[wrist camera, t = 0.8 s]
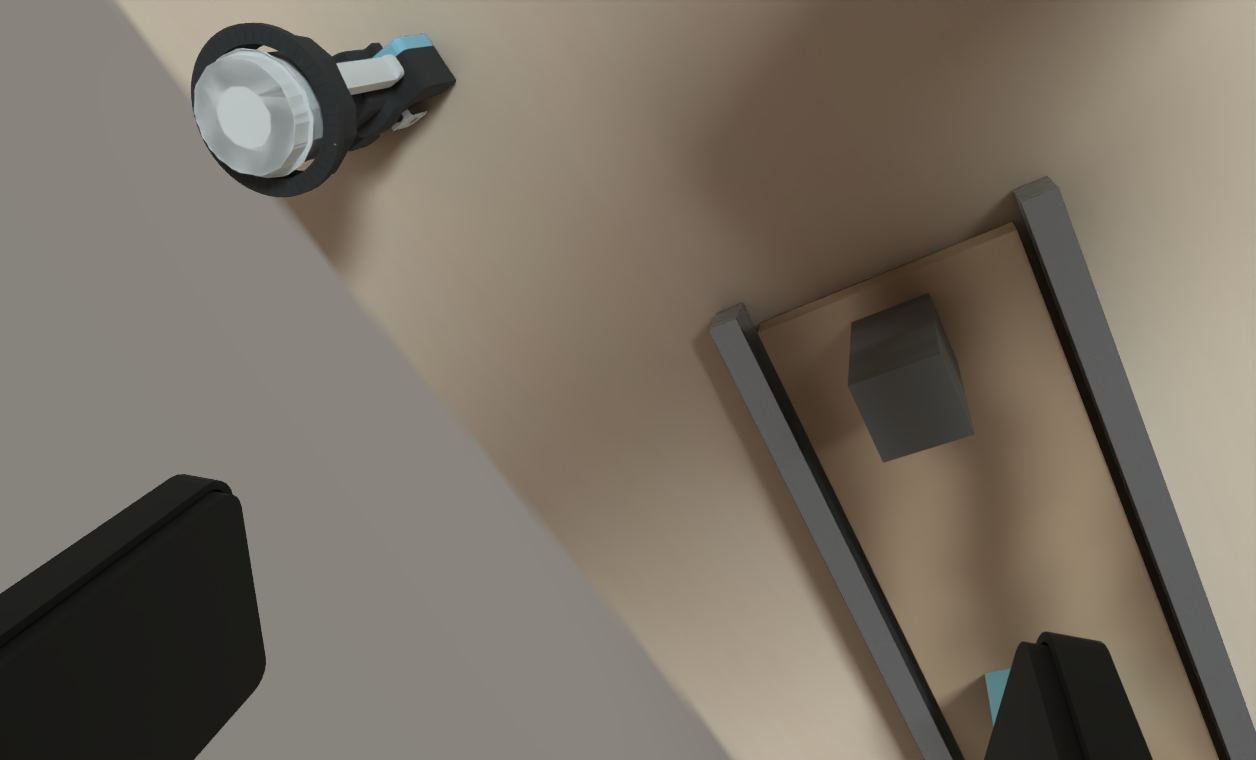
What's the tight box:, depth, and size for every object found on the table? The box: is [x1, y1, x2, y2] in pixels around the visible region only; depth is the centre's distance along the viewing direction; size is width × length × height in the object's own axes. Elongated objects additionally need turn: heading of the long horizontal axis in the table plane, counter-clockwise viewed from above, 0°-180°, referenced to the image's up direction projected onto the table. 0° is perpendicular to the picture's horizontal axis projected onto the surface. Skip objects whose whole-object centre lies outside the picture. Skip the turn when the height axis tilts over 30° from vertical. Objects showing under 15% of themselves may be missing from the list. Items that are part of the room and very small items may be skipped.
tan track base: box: [758, 222, 1219, 760], centre depth 34 cm, size 10×30×7 cm, turn 28°
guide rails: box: [709, 176, 1256, 760], centre depth 36 cm, size 13×32×2 cm, turn 28°
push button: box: [191, 23, 456, 197], centre depth 31 cm, size 7×5×10 cm
